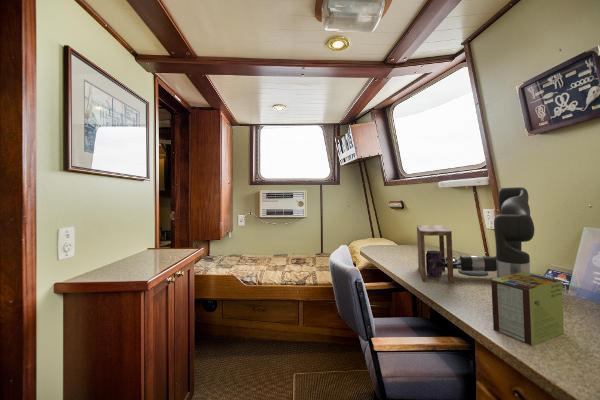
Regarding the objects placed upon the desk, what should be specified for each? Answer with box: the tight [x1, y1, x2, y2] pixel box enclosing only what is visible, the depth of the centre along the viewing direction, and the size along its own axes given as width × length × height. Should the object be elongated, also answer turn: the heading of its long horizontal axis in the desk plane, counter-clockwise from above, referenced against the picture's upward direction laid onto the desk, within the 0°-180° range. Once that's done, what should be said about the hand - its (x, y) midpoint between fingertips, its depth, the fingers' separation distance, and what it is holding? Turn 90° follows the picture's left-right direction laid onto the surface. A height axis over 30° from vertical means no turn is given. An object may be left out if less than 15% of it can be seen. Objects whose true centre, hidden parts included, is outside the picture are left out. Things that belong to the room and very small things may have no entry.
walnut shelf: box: [416, 224, 455, 285], centre depth 140 cm, size 13×25×24 cm, turn 161°
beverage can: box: [425, 250, 443, 278], centre depth 140 cm, size 7×7×12 cm
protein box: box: [490, 272, 565, 347], centre depth 81 cm, size 10×15×16 cm
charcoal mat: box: [457, 269, 489, 277], centre depth 141 cm, size 13×13×1 cm
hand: (434, 262), depth 139 cm, fingers open, 8 cm apart
